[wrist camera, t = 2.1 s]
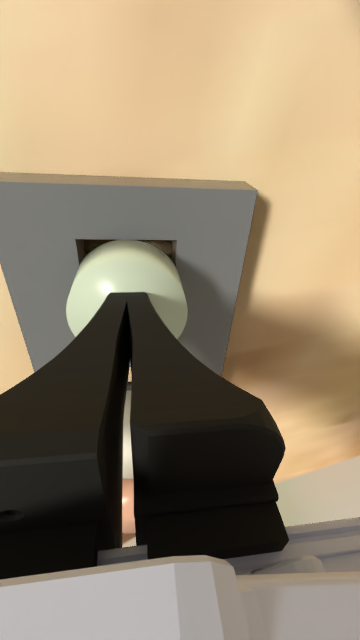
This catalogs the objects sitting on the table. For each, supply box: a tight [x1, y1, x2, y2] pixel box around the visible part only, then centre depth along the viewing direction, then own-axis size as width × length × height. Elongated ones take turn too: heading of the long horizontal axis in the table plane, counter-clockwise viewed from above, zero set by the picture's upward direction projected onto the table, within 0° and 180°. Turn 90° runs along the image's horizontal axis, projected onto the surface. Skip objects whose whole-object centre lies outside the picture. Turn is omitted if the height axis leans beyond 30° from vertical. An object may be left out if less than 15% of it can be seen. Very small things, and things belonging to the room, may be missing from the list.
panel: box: [0, 172, 258, 376], centre depth 18 cm, size 22×10×2 cm, turn 177°
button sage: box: [66, 239, 188, 339], centre depth 12 cm, size 4×4×4 cm
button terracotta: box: [122, 478, 136, 534], centre depth 19 cm, size 4×4×4 cm
